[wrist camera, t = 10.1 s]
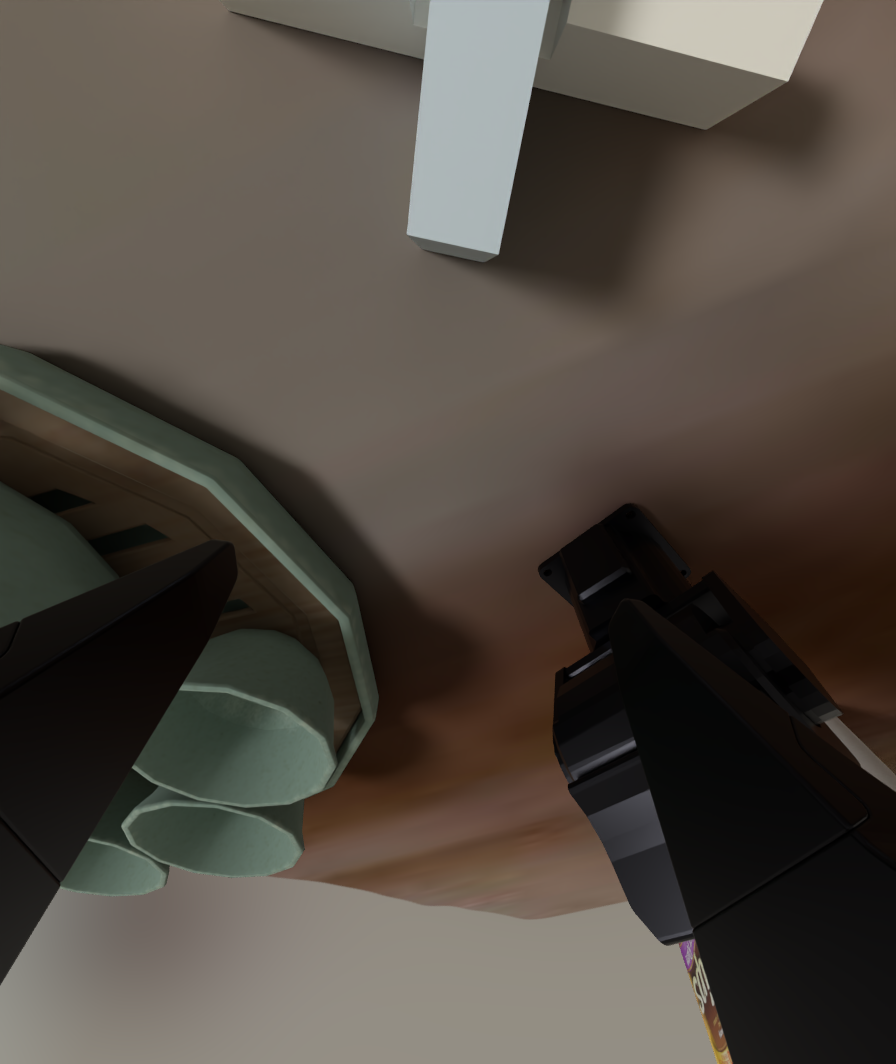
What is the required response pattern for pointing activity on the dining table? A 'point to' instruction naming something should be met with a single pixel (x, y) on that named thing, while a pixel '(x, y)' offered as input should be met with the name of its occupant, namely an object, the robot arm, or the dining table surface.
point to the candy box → (705, 1001)
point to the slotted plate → (472, 121)
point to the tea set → (232, 651)
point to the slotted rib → (608, 47)
